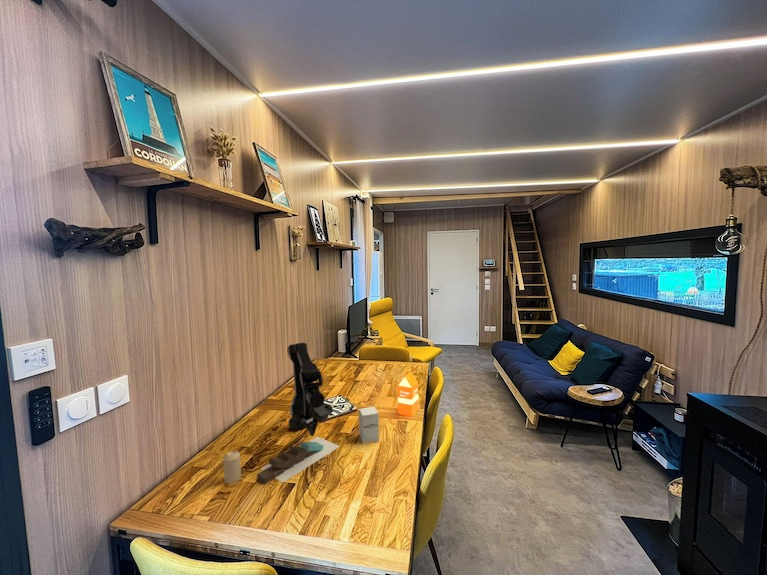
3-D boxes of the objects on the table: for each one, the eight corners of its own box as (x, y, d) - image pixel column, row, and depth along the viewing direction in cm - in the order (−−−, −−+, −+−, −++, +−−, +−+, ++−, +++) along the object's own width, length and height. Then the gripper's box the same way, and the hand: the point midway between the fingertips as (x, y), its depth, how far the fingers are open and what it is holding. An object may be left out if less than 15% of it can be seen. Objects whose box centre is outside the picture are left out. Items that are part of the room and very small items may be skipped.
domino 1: (293, 466, 122) (276, 467, 116) (285, 462, 125) (268, 463, 119) (294, 461, 123) (277, 462, 117) (286, 457, 125) (269, 457, 119)
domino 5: (322, 450, 133) (308, 450, 127) (314, 446, 136) (300, 447, 130) (323, 445, 133) (309, 446, 127) (315, 441, 136) (301, 442, 130)
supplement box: (362, 444, 137) (361, 415, 136) (359, 436, 144) (358, 408, 143) (379, 441, 139) (378, 412, 138) (375, 433, 146) (374, 405, 145)
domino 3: (303, 460, 126) (287, 461, 120) (295, 456, 129) (279, 457, 123) (304, 455, 126) (288, 456, 120) (297, 451, 129) (281, 452, 123)
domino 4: (312, 455, 129) (297, 455, 123) (304, 451, 132) (289, 451, 126) (313, 450, 130) (298, 450, 124) (305, 446, 133) (290, 446, 127)
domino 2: (284, 472, 119) (265, 483, 113) (276, 467, 122) (257, 478, 116) (284, 467, 119) (264, 478, 113) (276, 462, 122) (257, 474, 115)
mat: (260, 469, 122) (260, 468, 122) (317, 437, 144) (317, 436, 144) (283, 483, 113) (283, 482, 113) (339, 446, 135) (339, 446, 135)
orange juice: (398, 413, 165) (397, 375, 164) (405, 407, 173) (404, 370, 171) (412, 416, 161) (411, 377, 160) (418, 409, 169) (418, 372, 168)
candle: (236, 472, 120) (235, 446, 119) (244, 478, 117) (242, 451, 116) (221, 480, 116) (220, 453, 115) (228, 486, 112) (227, 458, 112)
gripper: (305, 411, 119) (307, 452, 120) (341, 395, 134) (342, 431, 135) (286, 404, 126) (288, 443, 127) (322, 389, 141) (324, 424, 142)
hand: (312, 435), depth 133 cm, fingers closed
